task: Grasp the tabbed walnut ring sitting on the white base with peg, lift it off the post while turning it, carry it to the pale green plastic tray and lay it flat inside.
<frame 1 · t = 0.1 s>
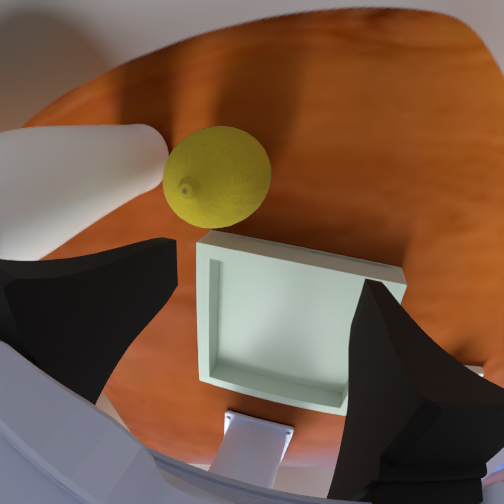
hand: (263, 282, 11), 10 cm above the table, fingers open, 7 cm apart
lemon: (242, 165, 20), on the table
drinking glass: (145, 156, 22), on the table
tray: (290, 326, 24), on the table
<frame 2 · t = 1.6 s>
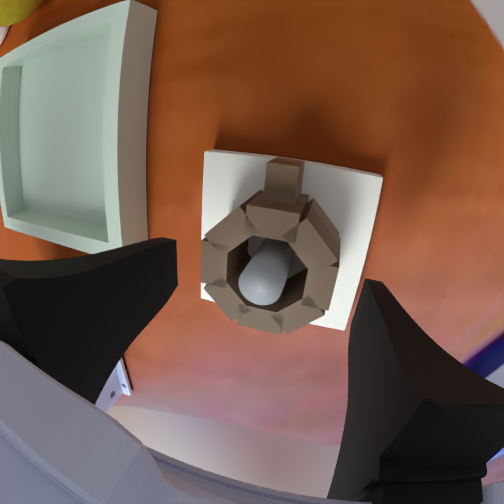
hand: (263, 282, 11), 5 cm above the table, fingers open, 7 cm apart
drinking glass: (3, 28, 14), on the table
white base with peg: (284, 238, 15), on the table
ring: (280, 246, 14), point 1 cm above the table, touching white base with peg
tray: (66, 131, 16), on the table
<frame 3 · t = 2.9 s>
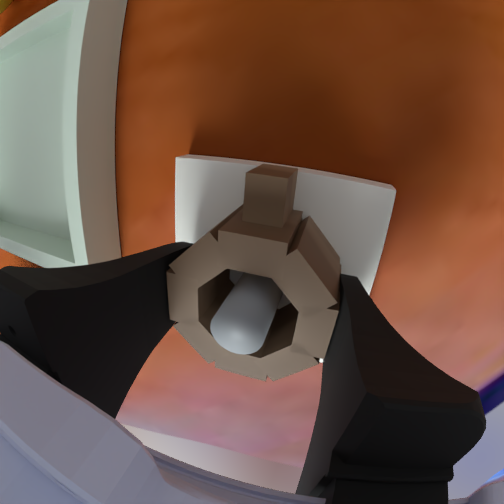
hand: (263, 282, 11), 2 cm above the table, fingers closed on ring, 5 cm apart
white base with peg: (273, 261, 13), on the table
ring: (268, 272, 12), point 1 cm above the table, touching gripper, white base with peg
tray: (36, 136, 14), on the table
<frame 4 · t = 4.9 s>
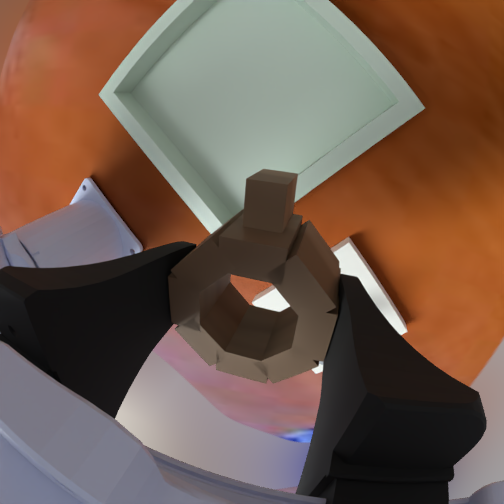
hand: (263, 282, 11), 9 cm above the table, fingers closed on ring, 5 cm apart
white base with peg: (332, 310, 21), on the table
ring: (268, 276, 12), point 8 cm above the table, touching gripper
tray: (249, 88, 16), on the table
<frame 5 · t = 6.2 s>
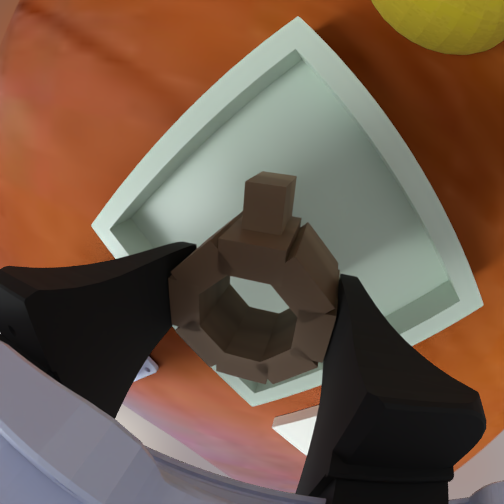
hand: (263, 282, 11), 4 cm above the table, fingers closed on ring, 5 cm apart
lemon: (416, 16, 9), on the table
white base with peg: (346, 430, 19), on the table
ring: (268, 278, 12), point 3 cm above the table, touching gripper
tray: (283, 241, 15), on the table
when the fingers open (3 cm above the table, at t = 7.4 s): ring drops 2 cm, resting on tray.
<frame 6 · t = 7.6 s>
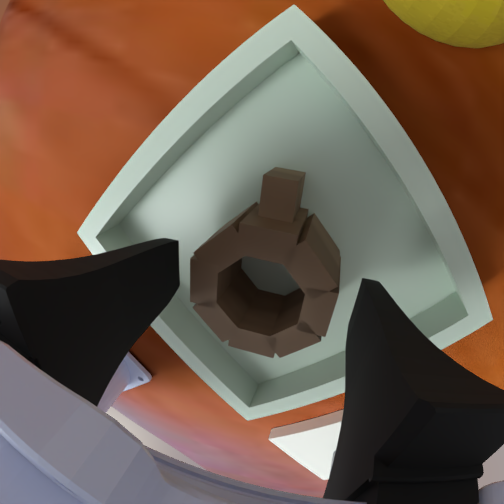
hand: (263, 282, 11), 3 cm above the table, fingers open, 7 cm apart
lemon: (423, 8, 8), on the table
white base with peg: (345, 442, 18), on the table
ring: (276, 262, 13), point 1 cm above the table, touching tray
tray: (279, 250, 14), on the table
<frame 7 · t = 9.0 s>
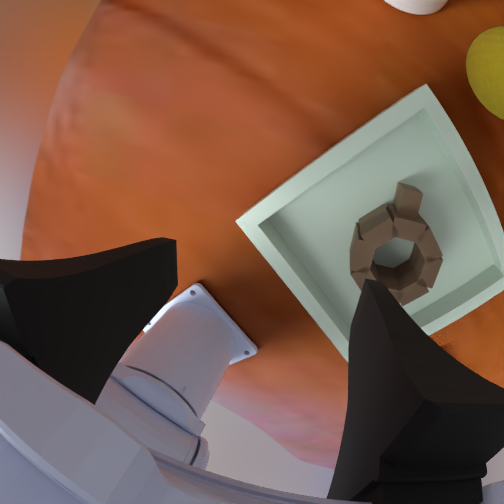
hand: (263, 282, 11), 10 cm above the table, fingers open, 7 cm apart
lemon: (483, 81, 12), on the table
ring: (390, 245, 18), point 1 cm above the table, touching tray
tray: (390, 236, 19), on the table
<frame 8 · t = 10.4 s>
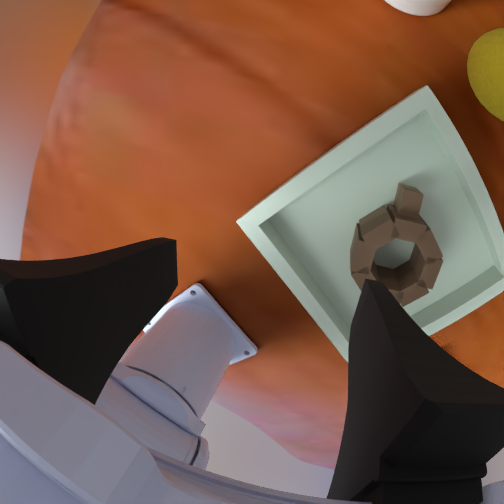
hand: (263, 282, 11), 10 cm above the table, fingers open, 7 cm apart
lemon: (484, 83, 13), on the table
ring: (391, 245, 18), point 1 cm above the table, touching tray
tray: (391, 237, 19), on the table
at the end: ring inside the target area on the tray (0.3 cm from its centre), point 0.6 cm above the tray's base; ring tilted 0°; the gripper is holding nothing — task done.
